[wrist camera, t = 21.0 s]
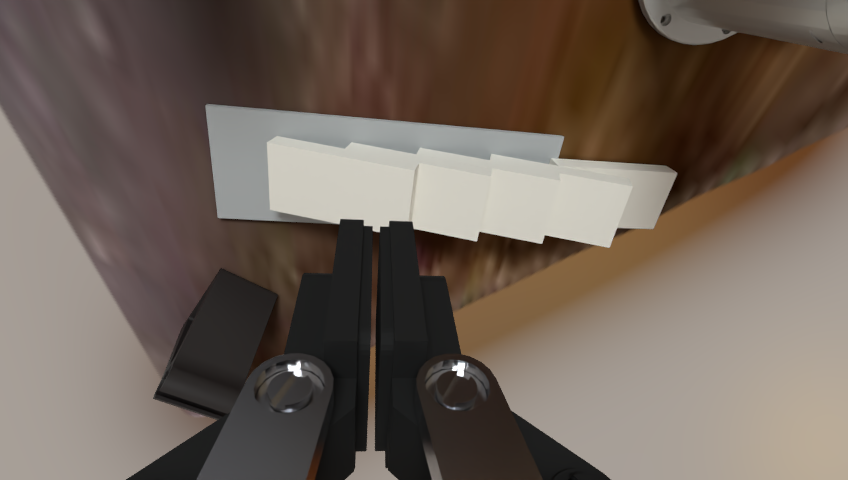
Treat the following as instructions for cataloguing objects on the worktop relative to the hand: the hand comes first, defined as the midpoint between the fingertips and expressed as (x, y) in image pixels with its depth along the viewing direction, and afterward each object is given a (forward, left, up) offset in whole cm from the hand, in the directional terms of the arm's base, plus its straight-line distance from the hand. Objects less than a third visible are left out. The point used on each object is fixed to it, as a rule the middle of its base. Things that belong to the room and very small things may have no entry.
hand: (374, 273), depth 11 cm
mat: (-3, +10, -30) cm, 31 cm away
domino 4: (-11, +10, -28) cm, 32 cm away
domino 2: (+1, +10, -28) cm, 30 cm away
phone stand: (+12, +26, -30) cm, 41 cm away
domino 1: (+7, +10, -28) cm, 31 cm away
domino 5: (-17, +10, -28) cm, 35 cm away
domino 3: (-5, +10, -28) cm, 30 cm away
